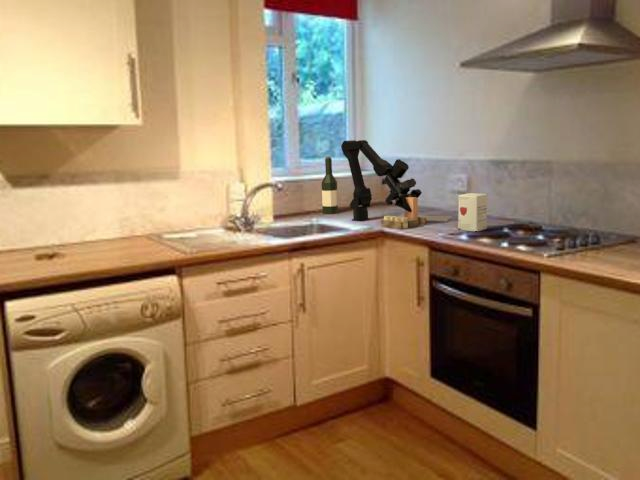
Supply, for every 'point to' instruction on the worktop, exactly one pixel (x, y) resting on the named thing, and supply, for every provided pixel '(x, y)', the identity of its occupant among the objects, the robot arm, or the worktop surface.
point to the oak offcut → (402, 219)
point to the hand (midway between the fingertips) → (413, 211)
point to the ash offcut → (390, 218)
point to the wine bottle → (329, 190)
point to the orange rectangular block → (412, 208)
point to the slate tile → (437, 218)
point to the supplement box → (472, 212)
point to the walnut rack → (399, 225)
